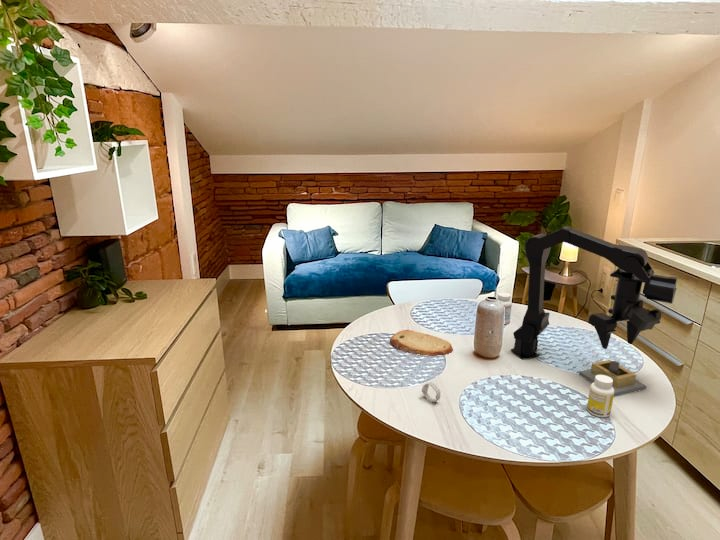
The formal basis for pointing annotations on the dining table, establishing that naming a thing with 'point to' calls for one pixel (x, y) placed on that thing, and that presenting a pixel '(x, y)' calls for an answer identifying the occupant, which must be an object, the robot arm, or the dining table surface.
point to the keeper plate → (616, 390)
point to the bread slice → (420, 343)
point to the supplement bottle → (601, 396)
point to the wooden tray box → (620, 379)
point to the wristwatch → (425, 390)
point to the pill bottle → (506, 305)
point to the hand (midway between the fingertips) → (617, 345)
